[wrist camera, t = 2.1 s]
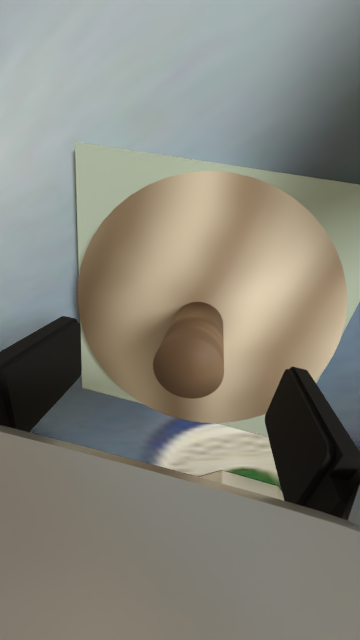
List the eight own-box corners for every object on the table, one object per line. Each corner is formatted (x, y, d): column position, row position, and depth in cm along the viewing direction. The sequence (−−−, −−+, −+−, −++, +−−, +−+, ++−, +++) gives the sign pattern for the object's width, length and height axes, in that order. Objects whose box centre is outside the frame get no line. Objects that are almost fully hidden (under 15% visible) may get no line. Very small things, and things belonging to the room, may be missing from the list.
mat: (407, 194, 11) (417, 193, 11) (283, 435, 19) (285, 441, 18) (81, 145, 13) (74, 141, 12) (85, 383, 20) (82, 387, 20)
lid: (399, 202, 11) (575, 178, 6) (281, 435, 18) (307, 526, 12) (83, 153, 13) (-23, 97, 7) (87, 384, 20) (35, 445, 14)
